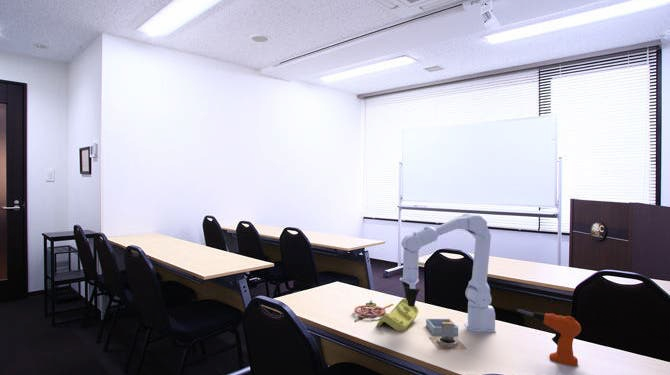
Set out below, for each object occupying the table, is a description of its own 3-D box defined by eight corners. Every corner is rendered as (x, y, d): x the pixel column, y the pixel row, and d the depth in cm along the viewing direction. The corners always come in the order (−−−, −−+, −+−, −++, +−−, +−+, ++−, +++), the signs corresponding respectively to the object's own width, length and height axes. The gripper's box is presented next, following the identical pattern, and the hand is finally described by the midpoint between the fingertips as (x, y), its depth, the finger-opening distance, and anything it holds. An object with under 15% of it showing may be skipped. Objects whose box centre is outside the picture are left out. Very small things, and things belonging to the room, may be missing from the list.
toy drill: (513, 342, 128) (519, 299, 127) (577, 365, 118) (585, 318, 117) (510, 346, 125) (517, 303, 124) (576, 370, 114) (585, 323, 113)
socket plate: (456, 338, 134) (456, 334, 134) (467, 350, 124) (467, 346, 124) (428, 338, 134) (428, 334, 134) (437, 350, 124) (437, 346, 124)
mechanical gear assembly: (340, 318, 154) (371, 328, 145) (340, 308, 154) (371, 317, 145) (378, 302, 178) (406, 310, 169) (378, 293, 178) (407, 300, 168)
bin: (449, 326, 146) (449, 318, 146) (458, 336, 137) (458, 327, 137) (426, 326, 146) (426, 318, 146) (433, 335, 136) (433, 327, 136)
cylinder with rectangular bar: (451, 340, 131) (451, 320, 131) (455, 345, 127) (455, 324, 127) (439, 340, 131) (440, 320, 131) (443, 345, 127) (443, 324, 127)
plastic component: (404, 327, 138) (382, 311, 142) (396, 343, 140) (374, 327, 144) (422, 309, 154) (401, 295, 159) (414, 323, 157) (394, 309, 161)
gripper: (398, 263, 150) (397, 297, 150) (401, 270, 135) (401, 308, 135) (416, 263, 149) (415, 297, 149) (421, 271, 135) (421, 309, 135)
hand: (410, 303), depth 142 cm, fingers open, 7 cm apart
